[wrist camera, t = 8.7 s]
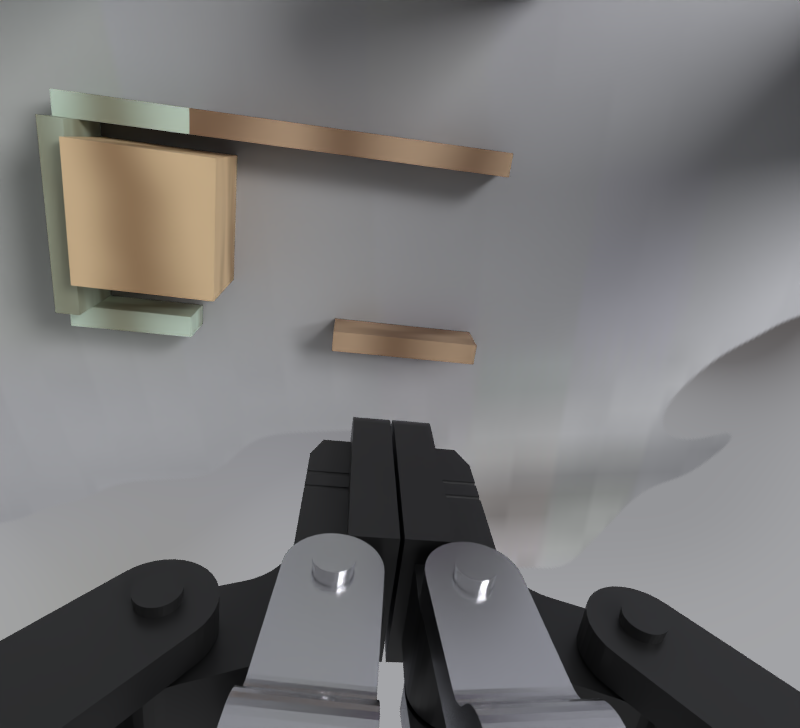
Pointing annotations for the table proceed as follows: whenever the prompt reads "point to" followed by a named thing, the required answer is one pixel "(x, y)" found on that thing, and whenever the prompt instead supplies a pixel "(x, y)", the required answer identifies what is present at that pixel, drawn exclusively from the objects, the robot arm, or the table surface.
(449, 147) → the channel
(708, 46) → the table surface
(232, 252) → the block
